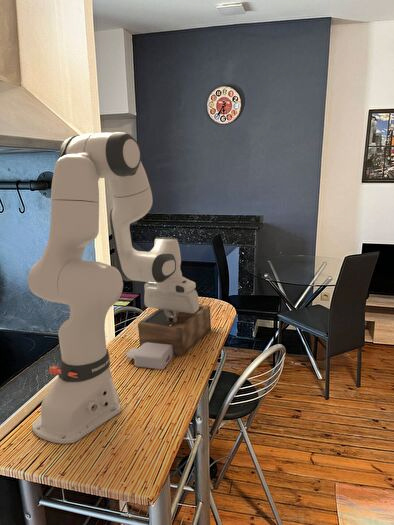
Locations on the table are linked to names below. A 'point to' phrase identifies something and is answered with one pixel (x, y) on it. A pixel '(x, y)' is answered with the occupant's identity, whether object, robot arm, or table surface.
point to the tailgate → (158, 318)
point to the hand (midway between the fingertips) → (172, 321)
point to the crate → (178, 331)
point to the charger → (151, 355)
